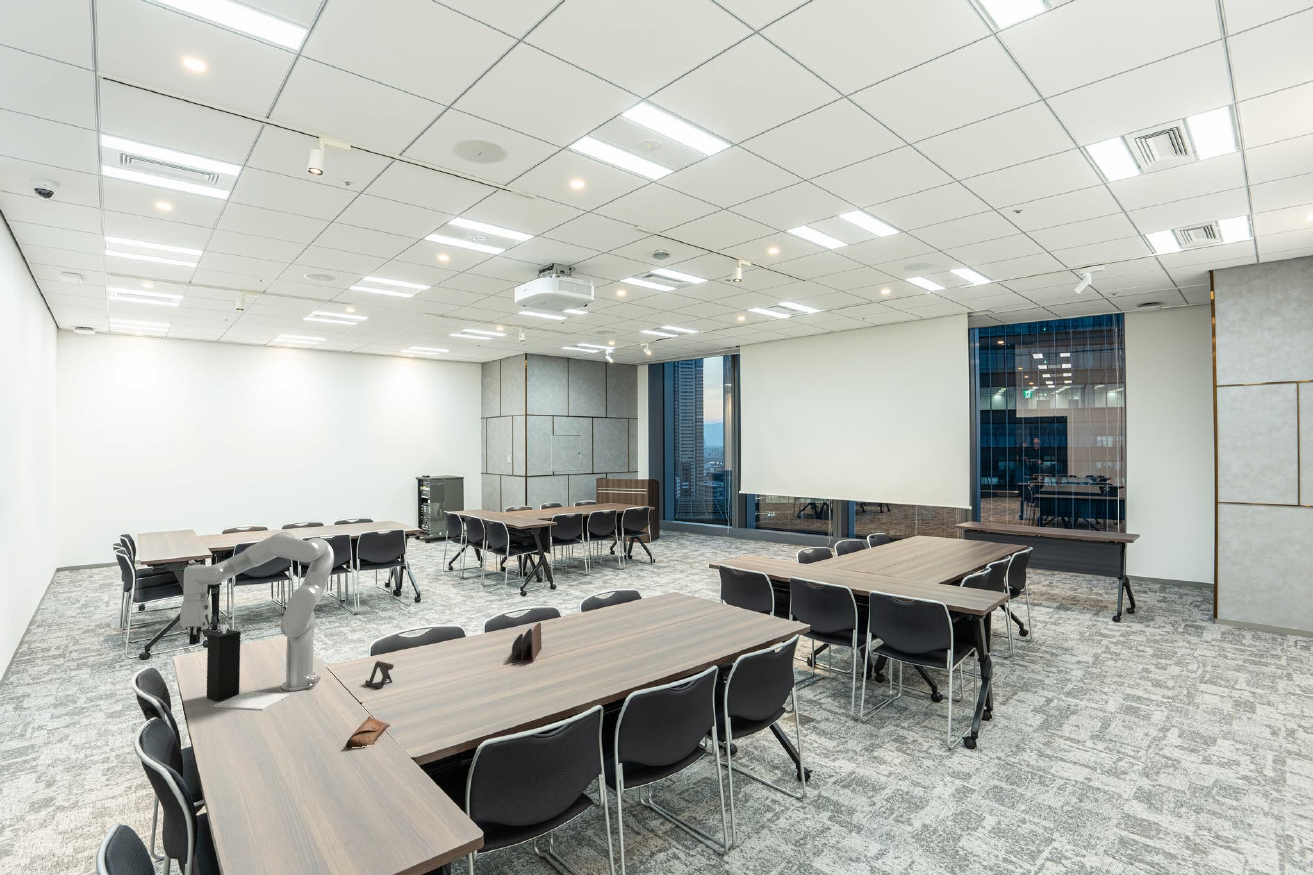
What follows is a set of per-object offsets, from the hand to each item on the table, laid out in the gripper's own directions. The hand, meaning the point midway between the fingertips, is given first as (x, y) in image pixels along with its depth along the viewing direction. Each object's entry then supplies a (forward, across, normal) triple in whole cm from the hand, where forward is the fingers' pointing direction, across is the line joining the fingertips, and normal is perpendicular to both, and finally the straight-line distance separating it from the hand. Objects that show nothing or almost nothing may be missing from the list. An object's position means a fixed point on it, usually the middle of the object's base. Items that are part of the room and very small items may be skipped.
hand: (194, 643), depth 242 cm
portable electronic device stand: (+21, -66, -21) cm, 72 cm away
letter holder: (+21, -113, -64) cm, 132 cm away
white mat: (+20, -28, +2) cm, 35 cm away
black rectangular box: (+20, -13, 0) cm, 24 cm away
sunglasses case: (+21, -90, +22) cm, 95 cm away
